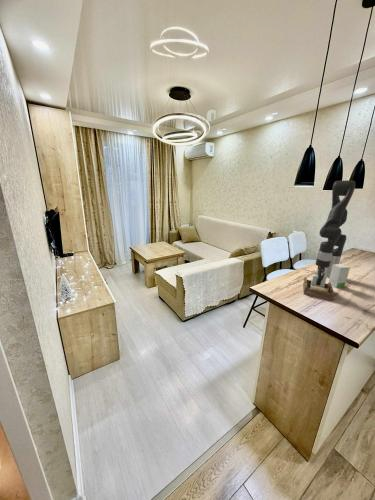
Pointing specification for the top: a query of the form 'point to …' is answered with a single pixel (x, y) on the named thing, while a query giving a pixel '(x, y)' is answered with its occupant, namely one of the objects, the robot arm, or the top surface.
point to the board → (314, 280)
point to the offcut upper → (319, 288)
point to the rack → (317, 293)
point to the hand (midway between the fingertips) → (317, 283)
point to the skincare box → (339, 275)
